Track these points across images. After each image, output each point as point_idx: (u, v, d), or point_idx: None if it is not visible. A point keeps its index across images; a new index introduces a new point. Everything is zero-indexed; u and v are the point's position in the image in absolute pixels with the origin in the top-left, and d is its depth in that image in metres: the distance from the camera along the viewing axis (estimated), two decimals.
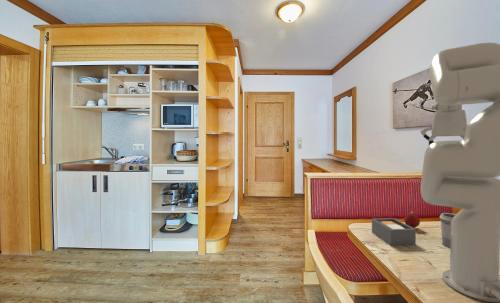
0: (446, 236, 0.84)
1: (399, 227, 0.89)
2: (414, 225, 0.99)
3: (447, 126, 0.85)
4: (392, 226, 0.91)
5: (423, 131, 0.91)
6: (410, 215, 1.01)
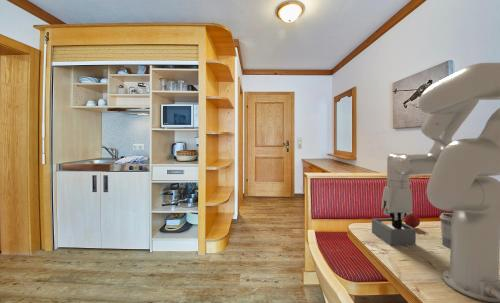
0: (446, 236, 0.84)
1: None
2: (414, 225, 0.99)
3: None
4: (392, 226, 0.91)
5: None
6: (410, 215, 1.01)
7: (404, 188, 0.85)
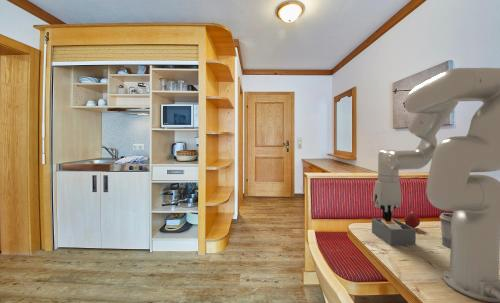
0: (446, 236, 0.84)
1: None
2: (414, 225, 0.99)
3: None
4: (392, 227, 0.90)
5: None
6: (410, 215, 1.01)
7: (393, 182, 0.91)
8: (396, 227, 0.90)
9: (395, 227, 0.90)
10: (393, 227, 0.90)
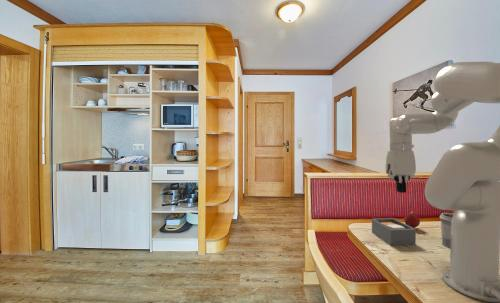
0: (446, 236, 0.84)
1: (399, 226, 0.89)
2: (414, 225, 0.99)
3: None
4: (392, 226, 0.91)
5: None
6: (410, 215, 1.01)
7: (407, 149, 0.86)
8: (396, 225, 0.91)
9: (395, 225, 0.91)
10: (393, 226, 0.91)
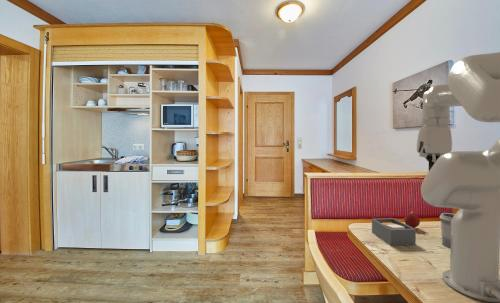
0: (446, 236, 0.84)
1: (399, 226, 0.90)
2: (414, 225, 0.99)
3: None
4: (392, 225, 0.91)
5: None
6: (410, 215, 1.01)
7: (444, 125, 0.78)
8: (396, 225, 0.91)
9: (395, 225, 0.91)
10: (393, 225, 0.91)
